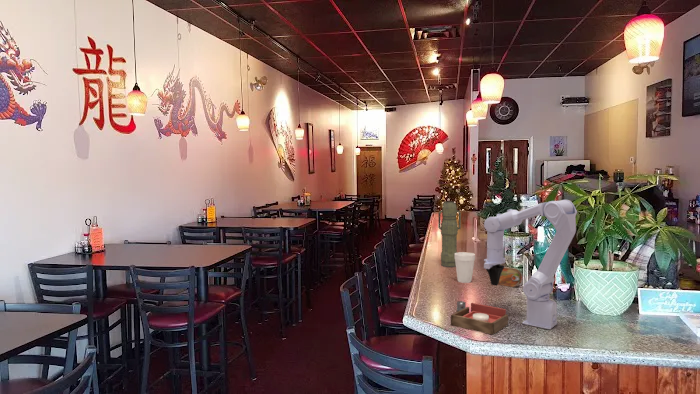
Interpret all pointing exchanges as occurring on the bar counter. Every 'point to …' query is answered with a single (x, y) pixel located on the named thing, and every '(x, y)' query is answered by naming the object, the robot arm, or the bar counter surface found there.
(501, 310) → the drawer
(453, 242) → the thermos
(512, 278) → the tin
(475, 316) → the white dome
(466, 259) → the foam cup
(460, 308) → the cylinder
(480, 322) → the cabinet
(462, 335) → the bar counter surface
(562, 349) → the bar counter surface
